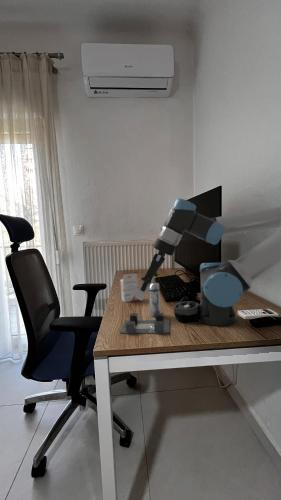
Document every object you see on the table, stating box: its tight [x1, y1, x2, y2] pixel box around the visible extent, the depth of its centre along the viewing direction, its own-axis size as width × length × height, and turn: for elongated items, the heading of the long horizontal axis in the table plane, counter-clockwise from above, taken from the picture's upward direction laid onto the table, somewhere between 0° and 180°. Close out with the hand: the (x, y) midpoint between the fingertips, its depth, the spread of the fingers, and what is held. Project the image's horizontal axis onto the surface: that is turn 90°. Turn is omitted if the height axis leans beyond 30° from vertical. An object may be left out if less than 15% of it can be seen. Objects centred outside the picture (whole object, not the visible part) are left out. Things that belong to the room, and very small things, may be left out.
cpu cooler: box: [173, 301, 200, 323], centre depth 100 cm, size 10×6×10 cm
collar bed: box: [119, 312, 171, 335], centre depth 93 cm, size 18×12×3 cm, turn 84°
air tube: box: [148, 282, 161, 318], centre depth 105 cm, size 4×4×14 cm
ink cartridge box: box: [120, 272, 140, 303], centre depth 132 cm, size 9×5×15 cm, turn 112°
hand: (141, 294), depth 88 cm, fingers open, 13 cm apart
